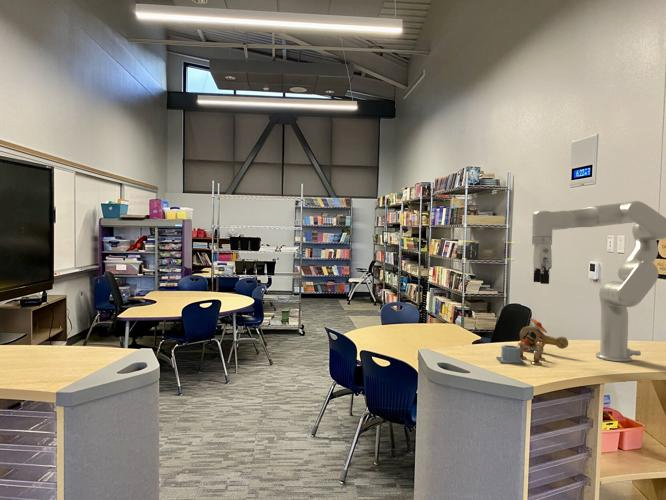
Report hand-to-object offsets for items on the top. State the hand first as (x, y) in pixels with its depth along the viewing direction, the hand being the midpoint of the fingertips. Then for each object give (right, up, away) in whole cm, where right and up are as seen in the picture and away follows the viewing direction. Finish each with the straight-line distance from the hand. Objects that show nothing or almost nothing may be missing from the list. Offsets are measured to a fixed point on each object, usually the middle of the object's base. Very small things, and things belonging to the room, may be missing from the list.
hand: (541, 282), depth 192 cm
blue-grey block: (-16, -29, -10) cm, 35 cm away
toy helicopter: (+3, -31, +8) cm, 32 cm away
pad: (-16, -30, -10) cm, 35 cm away
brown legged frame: (-7, -30, -9) cm, 32 cm away
